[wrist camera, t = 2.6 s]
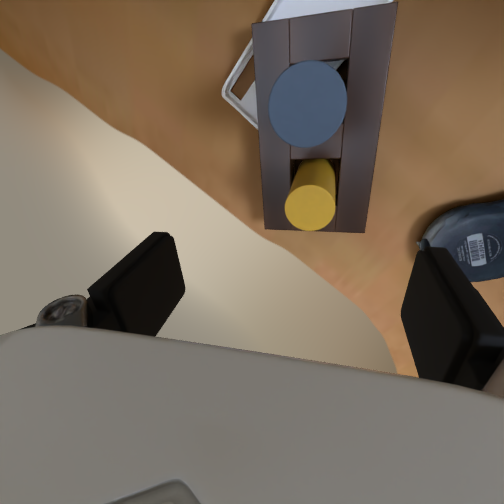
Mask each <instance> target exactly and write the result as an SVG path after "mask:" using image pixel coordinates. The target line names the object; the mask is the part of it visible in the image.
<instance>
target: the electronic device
mask: <svg viewBox="0 0 504 504" xmlns="http://www.w3.org/2000/svg"><path fill="white" fill-rule="evenodd" d="M416 243H417V245H418V246H419V248H420V250H423V249H424V248H425V247H426V246H428V247H445V248H447V250H448V251H449V252H450V254H451V255H452V257H453V258H454V260H455V261H456V263H457V264H458V265H459V267H460V268H461V270H462V271H463V273H464V274H465V275H466V277H467V278H468V280H469V281H470V282H480V281H486V280H491V279H498V278H501V277H504V199H503V200H498V201H494V202H487V203H476V204H475V203H472V204H469V205H465V206H459V207H456V208H454V209H451V210H449V211H447V212H445V213H444V214H442V215H440V216H439V217H438V218H437V219H435V220H434V221H433V222H432V223H431V224H430V225H429V227H428V228H427V230H426V232H425V233H424V235H423V237H422V240H421V242H416Z"/></svg>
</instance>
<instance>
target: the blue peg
mask: <svg viewBox="0 0 504 504" xmlns="http://www.w3.org/2000/svg"><path fill="white" fill-rule="evenodd" d="M346 109H347V92H346V87H345V85H344V82H343V80H342V78H341V76H340V75H339V74H338V72H337V71H336V70H335V69H334V68H333V67H331V66H330V65H328V64H326V63H324V62H321V61H317V60H305V61H301V62H298V63H295V64H293V65H291V66H290V67H288V68H287V69H286V70H285V71H284V72H282V73H281V75H280V76H279V77H278V78H277V80H276V81H275V83H274V85H273V87H272V89H271V92H270V96H269V101H268V115H269V119H270V123H271V125H272V127H273V129H274V131H275V133H276V134H277V135H278V136H279V137H280V138H281V139H282V140H283V141H284V142H286V143H287V144H289V145H292V146H295V147H299V148H309V147H314V146H317V145H320V144H322V143H324V142H325V141H327V140H328V139H329V138H330V137H332V136H333V135H334V134H335V132H336V131H337V130H338V128H339V127H340V125H341V123H342V122H343V119H344V117H345V113H346Z"/></svg>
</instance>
